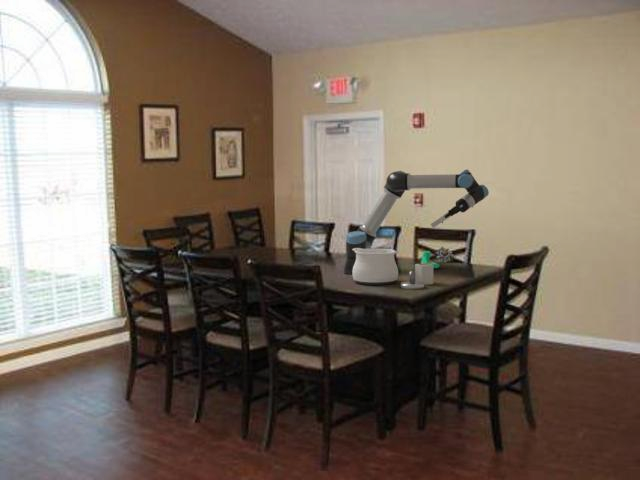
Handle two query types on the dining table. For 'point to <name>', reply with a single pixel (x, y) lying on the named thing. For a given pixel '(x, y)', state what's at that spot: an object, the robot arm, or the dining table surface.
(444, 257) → the passion flower
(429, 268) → the box with orange strip
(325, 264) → the dining table surface
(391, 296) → the dining table surface
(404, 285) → the hub plate
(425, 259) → the camera mount
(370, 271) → the pot
